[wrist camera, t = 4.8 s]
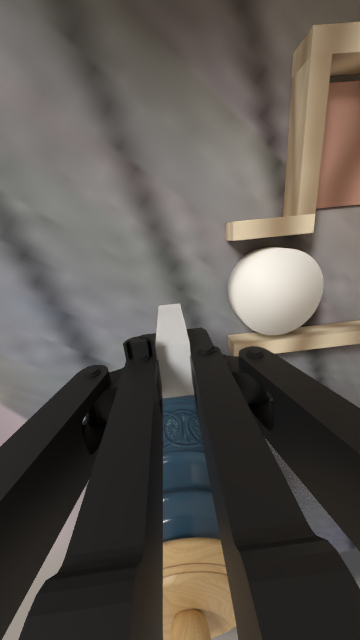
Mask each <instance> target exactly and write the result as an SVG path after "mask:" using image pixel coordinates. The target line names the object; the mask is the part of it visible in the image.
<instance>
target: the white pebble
mask: <svg viewBox="0 0 360 640" xmlns="http://www.w3.org/2000/svg"><path fill="white" fill-rule="evenodd" d="M322 293H323V276H322V272H321V270H320V267H319V266H318V264H317V263H316V261H315V260H314V259H313V258H312V257H311V256H309V255H308V254H306V253H305V252H302V251H300V250H296V249H289V248H278V247H263V248H259V249H256V250H254V251H252V252H250V253H248V254H246V255H245V256H244V257H243V258H241V259H240V260H239V261H238V263H237V264H236V265H235V266H234V268H233V270H232V272H231V274H230V276H229V279H228V283H227V297H228V301H229V304H230V306H231V308H232V309H233V311H234V312H235V313H236V314H237V315H238V316H239V318H240V319H241V320H242V321H243V322H244V323H245V324H246V325H247V326H248V327H249V328H251V329H252V330H254V331H256V332H258V333H261V334H265V335H280V334H285V333H288V332H291V331H293V330H295V329H297V328H298V327H300V326H301V325H303V324H304V323H305V322H306V321H307V320H308V319H309V318H310V317H311V316H312V315H313V313H314V312H315V310H316V309H317V307H318V305H319V303H320V300H321V297H322Z"/></svg>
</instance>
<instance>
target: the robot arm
mask: <svg viewBox="0 0 360 640" xmlns="http://www.w3.org/2000/svg"><path fill="white" fill-rule="evenodd" d="M123 346H124V351H125V356H126V364H125V367H124V368H122V369H119V370H116V371H113V372H109V371H108V367H106V366H103V365H93V366H89V367H87V368H85V369H83V370H81V371H80V372H78V373H77V374H76V375H75V376H74V377H73V378H72V379H71V380H70V381H69V382H68V383H67V384H66V385H64V386H63V387H62V388H61V389H60V390H59V391H58V392H57V393H56V394H55V395H54V396H53V397H52V398H51V399H50V400H49V401H48V402H47V403H46V404H45V405H44V406H42V407H41V408H40V409H39V410H38V411H37V412H36V413H35V414H34V415H33V416H32V417H31V418H30V419H29V420H28V421H27V422H26V423H25V424H24V425H23V426H22V427H20V429H18V430H17V431H16V432H15V433H14V434H13V435H12V436H11V437H10V438H9V439H8V440H7V441H6V442H5V443H4V444H3V445H2V446H1V447H0V640H2V638H3V636H4V634H5V632H6V631H7V629H8V627H9V625H10V623H11V622H12V620H13V618H14V616H15V614H16V612H17V610H18V609H19V607H20V605H21V603H22V601H23V599H24V598H25V596H26V594H27V592H28V590H29V589H30V587H31V585H32V583H33V581H34V579H35V578H36V575H37V574H38V572H39V570H40V568H41V566H42V565H43V563H44V561H45V559H46V557H47V555H48V554H49V552H50V550H51V548H52V546H53V544H54V543H55V541H56V539H57V537H58V535H59V533H60V531H61V530H62V528H63V526H64V524H65V522H66V521H67V519H68V517H69V515H70V513H71V511H72V510H73V508H74V506H75V504H76V502H77V500H78V498H79V497H80V495H81V493H82V491H83V489H84V487H85V486H86V484H87V482H88V480H89V482H88V485H87V489H86V492H85V495H84V498H83V501H82V505H81V508H80V511H79V514H78V518H77V521H76V524H75V527H74V530H73V534H72V537H71V540H70V543H69V546H68V550H67V553H66V556H65V559H64V561H63V564H62V566H61V568H60V570H59V571H58V573H57V574H55V575H54V576H52V577H51V578H49V579H48V580H46V581H45V583H44V584H43V586H42V587H41V589H40V590H39V592H38V593H37V595H36V597H35V599H34V602H33V604H32V606H31V609H30V611H29V613H28V616H27V618H26V621H25V623H24V626H23V629H22V632H21V634H20V637H19V640H163V401H162V397H163V398H171V397H179V396H187V395H194V398H195V409H196V415H197V416H198V421H199V427H200V432H201V437H202V443H203V448H204V454H205V459H206V464H207V470H208V475H209V480H210V486H211V491H212V497H213V502H214V507H215V513H216V518H217V523H218V529H219V534H220V540H221V545H222V550H223V556H224V561H225V566H226V572H227V577H228V582H229V588H230V593H231V599H232V604H233V609H234V615H235V621H236V627H237V633H238V640H360V589H359V587H358V585H357V583H356V582H355V580H354V578H353V576H352V574H351V573H350V571H349V569H348V568H347V566H346V564H345V563H344V561H343V560H342V558H341V556H340V555H339V553H338V552H337V550H336V549H335V548H334V547H333V546H332V545H331V544H330V543H329V541H328V540H326V539H323V538H321V537H318V536H316V534H315V533H314V532H313V531H312V530H311V528H310V526H309V524H308V523H307V521H306V519H305V517H304V515H303V513H302V511H301V509H300V507H299V505H298V503H297V501H296V499H295V497H294V495H293V493H292V491H291V489H290V487H289V485H288V483H287V481H286V479H285V477H284V475H283V473H282V471H281V469H280V468H279V466H278V464H277V462H276V460H275V458H274V456H273V454H272V452H271V450H270V448H269V446H268V444H267V442H266V440H265V438H266V439H267V441H268V442H269V443H270V444H271V445H272V447H273V448H274V449H275V450H276V451H277V453H278V454H279V455H280V456H281V457H282V459H283V460H284V461H285V462H286V463H287V465H288V466H289V467H290V468H291V469H292V471H293V472H294V473H295V474H296V475H297V477H298V478H299V479H300V480H301V481H302V483H303V484H304V485H305V486H306V487H307V489H308V490H309V491H310V492H311V493H312V495H313V496H314V497H315V498H316V499H317V501H318V502H319V503H320V504H321V505H322V507H323V508H324V509H325V510H326V511H327V513H328V514H329V515H330V516H331V517H332V519H333V520H334V521H335V522H336V523H337V525H338V526H339V527H340V528H341V529H342V531H343V532H344V533H345V534H346V535H347V537H348V538H349V539H350V540H351V541H352V543H353V544H354V545H355V546H356V547H357V549H358V550H359V551H360V408H359V407H357V406H355V405H354V404H352V403H351V402H349V401H348V400H346V399H344V398H343V397H341V396H340V395H338V394H336V393H335V392H333V391H332V390H330V389H329V388H327V387H325V386H324V385H322V384H321V383H319V382H318V381H316V380H314V379H313V378H311V377H310V376H308V375H307V374H305V373H303V372H302V371H300V370H299V369H297V368H296V367H294V366H292V365H291V364H289V363H288V362H286V361H285V360H283V359H281V358H280V357H278V356H277V355H275V354H274V353H272V352H270V351H269V350H267V349H265V348H261V347H258V346H255V347H254V346H250V347H245V348H243V349H241V350H240V351H239V357H238V356H226V355H222V353H221V351H220V349H219V348H218V347H215V346H213V344H212V342H211V339H210V337H209V335H208V333H207V331H206V330H205V329H203V328H194V329H186V326H185V322H184V318H183V314H182V310H181V306H180V304H171V305H162V306H159V309H158V321H157V332H156V333H155V334H146V335H141V336H138V337H133V338H130V339H128V340H127V341H125V342H124V343H123ZM270 395H271V396H270ZM84 417H86V419H85V421H84V422H83V419H84ZM82 422H83V423H82ZM264 437H265V438H264ZM89 478H90V479H89Z"/></svg>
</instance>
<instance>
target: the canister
mask: <svg viewBox="0 0 360 640" xmlns="http://www.w3.org/2000/svg"><path fill="white" fill-rule="evenodd" d="M162 401H163V640H211V638H213V637H216V636H218V635H221V634H223V633H225V632H227V631H229V630H231V629H233V628H234V627H235V626H236V621H235V615H234V609H233V604H232V599H231V593H230V588H229V582H228V577H227V572H226V566H225V561H224V556H223V550H222V545H221V540H220V534H219V529H218V523H217V518H216V513H215V507H214V502H213V497H212V491H211V486H210V480H209V475H208V470H207V464H206V459H205V454H204V448H203V443H202V437H201V432H200V427H199V421H198V416H197V415H196V409H195V398H194V395H187V396H179V397H171V398H163V397H162Z"/></svg>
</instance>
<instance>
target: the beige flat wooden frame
mask: <svg viewBox="0 0 360 640" xmlns="http://www.w3.org/2000/svg"><path fill="white" fill-rule="evenodd" d="M351 74H360V22H348V23H334V24H320V25H313V26H312V28H311V29H310V31H309V32H308V33H307V35H306V36H305V38H304V39H303V41H302V42H301V43H300V45H299V46H298V48H297V49H296V50H295V52H294V53H293V66H292V82H291V98H290V115H289V131H288V147H287V163H286V180H285V196H284V212H283V217H276V218H266V219H256V220H246V221H236V222H230V223H226V240H229V241H236V240H246V239H256V238H266V237H276V236H286V235H296V234H306V233H313V231H314V221H315V212H316V209H318V208H329V207H339V206H349V205H359V204H360V80H359V81H347V82H334V83H329V81H330V76H339V75H351ZM353 344H360V320H358V321H349V322H340V323H331V324H322V325H313V326H305V327H298V328H297V329H295V330H293V331H291V332H288V333H285V334H280V335H265V334H261V333H258V332H252V333H243V334H234V335H228V348H229V350H230V351H231V353H232V355H233V356H238V357H239V351H240V350H241V349H243V348H245V347H250V346H254V347H255V346H258V347H261V348H265V349H267V350H269V351H270V352H272V353H274V354H276V353H284V352H293V351H301V350H310V349H319V348H327V347H336V346H344V345H353Z"/></svg>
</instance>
